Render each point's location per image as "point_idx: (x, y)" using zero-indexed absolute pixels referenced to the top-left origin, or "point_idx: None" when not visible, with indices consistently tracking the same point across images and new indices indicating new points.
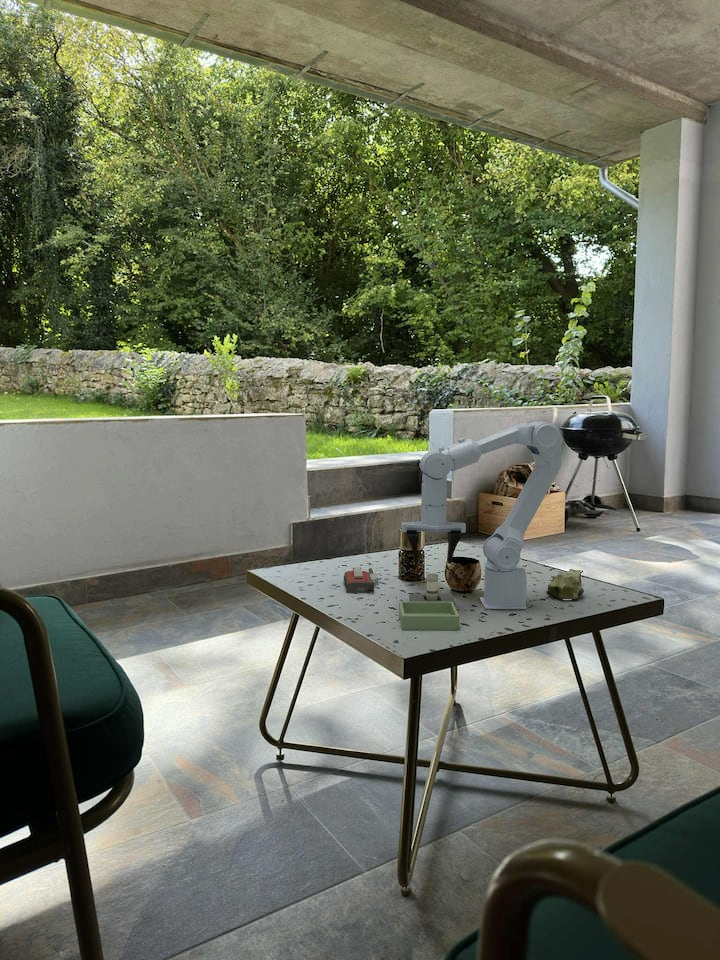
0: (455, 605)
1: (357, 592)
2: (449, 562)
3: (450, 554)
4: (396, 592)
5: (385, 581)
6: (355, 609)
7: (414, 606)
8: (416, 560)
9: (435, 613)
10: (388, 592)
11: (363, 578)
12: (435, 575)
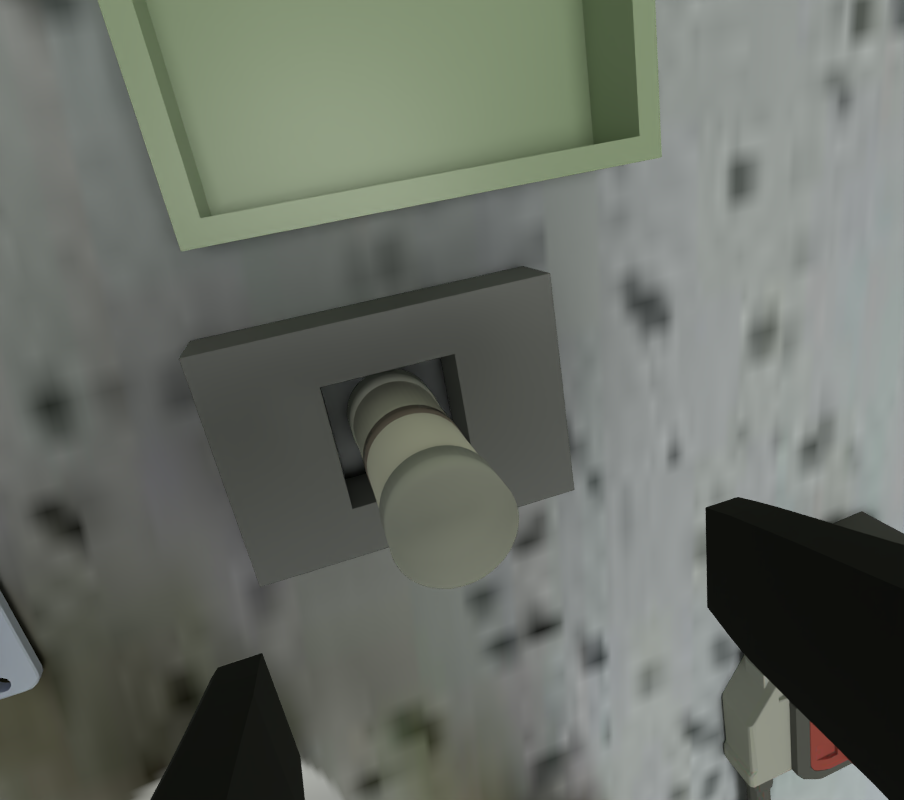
0: (184, 354)
1: None
2: (240, 668)
3: (204, 791)
4: (626, 613)
5: (683, 761)
6: (853, 224)
7: (524, 157)
8: (758, 512)
9: (337, 178)
10: (669, 597)
11: None
12: (420, 525)
